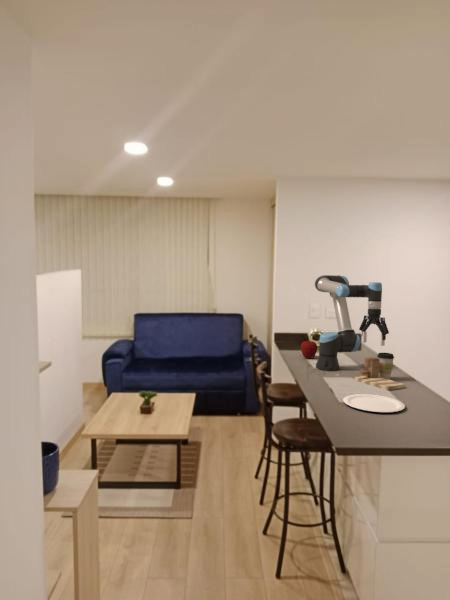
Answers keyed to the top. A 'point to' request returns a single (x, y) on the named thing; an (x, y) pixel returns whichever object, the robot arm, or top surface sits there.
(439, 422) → the top surface
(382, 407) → the plate
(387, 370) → the coffee cup
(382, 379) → the board
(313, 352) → the apple
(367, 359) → the brown box
